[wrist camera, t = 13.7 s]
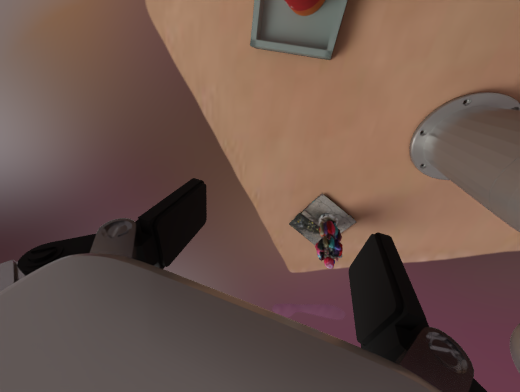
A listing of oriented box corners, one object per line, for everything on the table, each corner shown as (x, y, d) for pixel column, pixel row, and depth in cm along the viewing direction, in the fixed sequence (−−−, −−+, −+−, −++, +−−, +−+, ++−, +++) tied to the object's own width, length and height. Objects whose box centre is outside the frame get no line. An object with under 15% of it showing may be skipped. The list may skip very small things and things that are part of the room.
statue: (322, 190, 41) (328, 229, 27) (354, 216, 41) (376, 267, 28) (289, 221, 46) (281, 267, 32) (318, 244, 46) (322, 298, 33)
